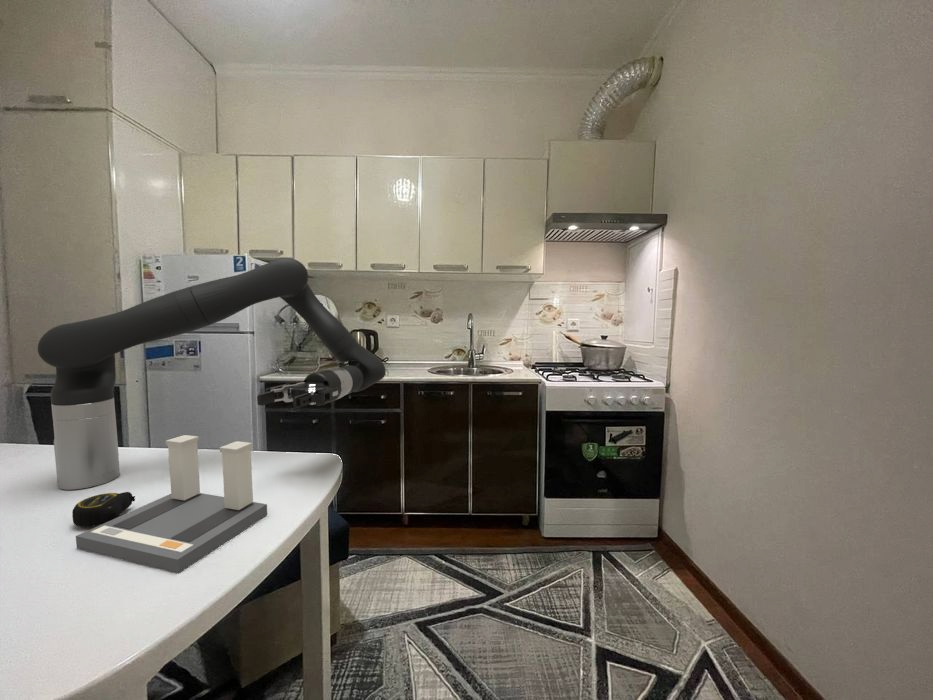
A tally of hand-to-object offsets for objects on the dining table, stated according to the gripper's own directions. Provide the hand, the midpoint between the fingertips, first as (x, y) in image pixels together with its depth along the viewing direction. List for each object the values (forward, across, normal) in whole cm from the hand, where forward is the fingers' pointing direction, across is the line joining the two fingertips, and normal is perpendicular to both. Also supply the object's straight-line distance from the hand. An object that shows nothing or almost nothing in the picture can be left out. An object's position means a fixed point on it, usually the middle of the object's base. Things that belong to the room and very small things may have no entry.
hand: (276, 401), depth 74 cm
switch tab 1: (+10, -12, +16) cm, 22 cm away
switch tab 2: (+10, 0, +16) cm, 19 cm away
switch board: (+16, -6, +18) cm, 25 cm away
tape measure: (+17, -22, +18) cm, 33 cm away
